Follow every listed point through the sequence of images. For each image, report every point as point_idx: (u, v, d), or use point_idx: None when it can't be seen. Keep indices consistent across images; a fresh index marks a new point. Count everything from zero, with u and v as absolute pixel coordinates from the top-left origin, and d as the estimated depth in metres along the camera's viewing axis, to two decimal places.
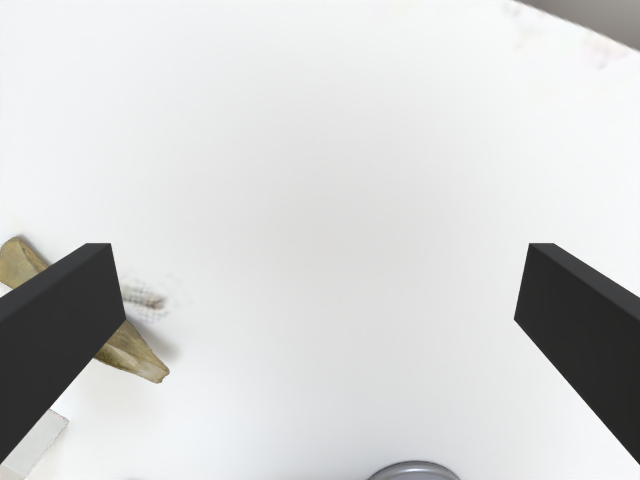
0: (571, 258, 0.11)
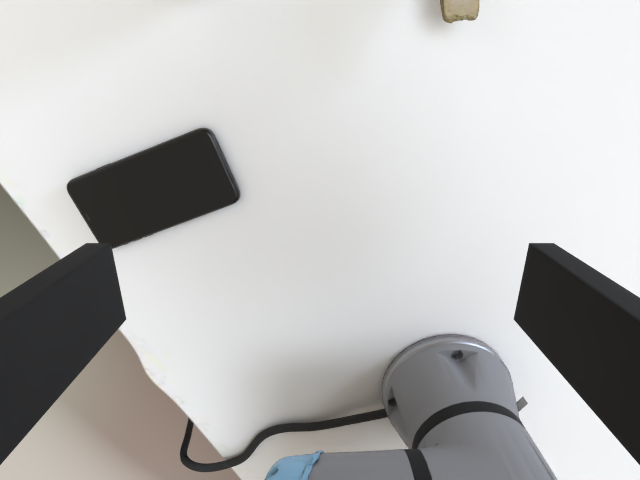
0: (571, 258, 0.11)
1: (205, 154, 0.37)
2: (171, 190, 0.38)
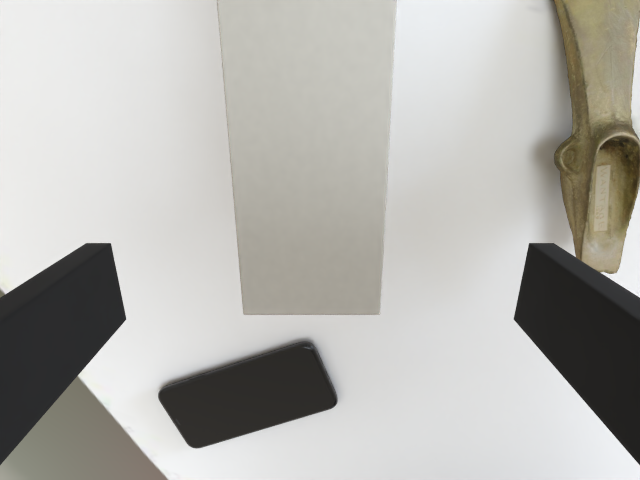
0: (571, 258, 0.11)
1: (305, 367, 0.35)
2: (267, 398, 0.37)
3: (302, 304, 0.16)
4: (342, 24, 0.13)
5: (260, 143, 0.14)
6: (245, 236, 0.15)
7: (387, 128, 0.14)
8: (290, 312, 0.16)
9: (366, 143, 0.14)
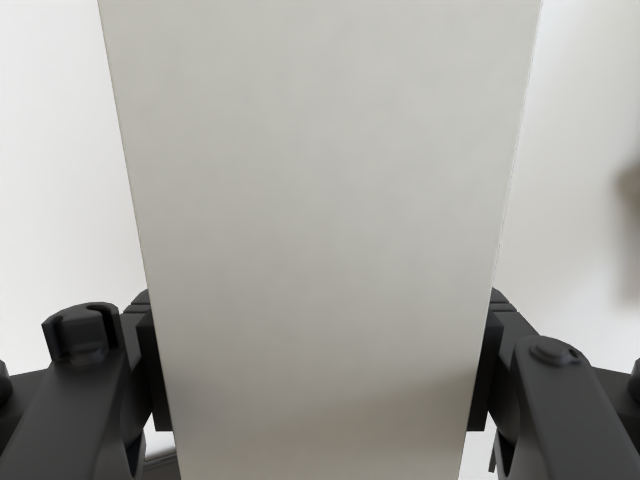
0: None
1: None
2: None
3: None
4: None
5: (211, 246, 0.06)
6: (187, 416, 0.07)
7: (499, 215, 0.06)
8: None
9: (448, 246, 0.06)
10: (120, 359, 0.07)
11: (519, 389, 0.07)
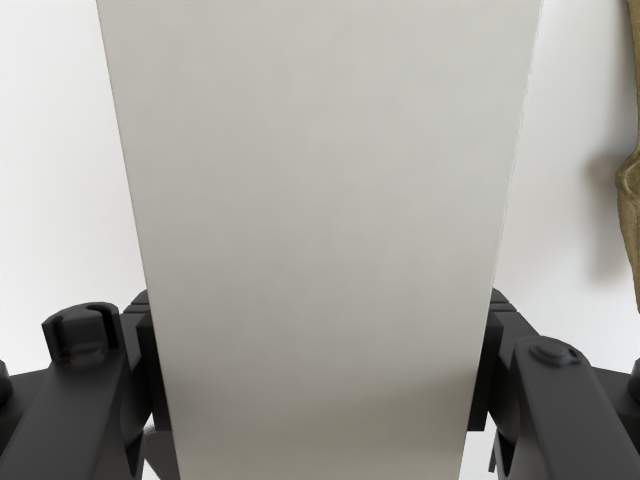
0: None
1: None
2: None
3: None
4: None
5: (210, 246, 0.06)
6: (186, 417, 0.07)
7: (500, 216, 0.06)
8: None
9: (448, 247, 0.06)
10: (120, 360, 0.07)
11: (519, 389, 0.07)
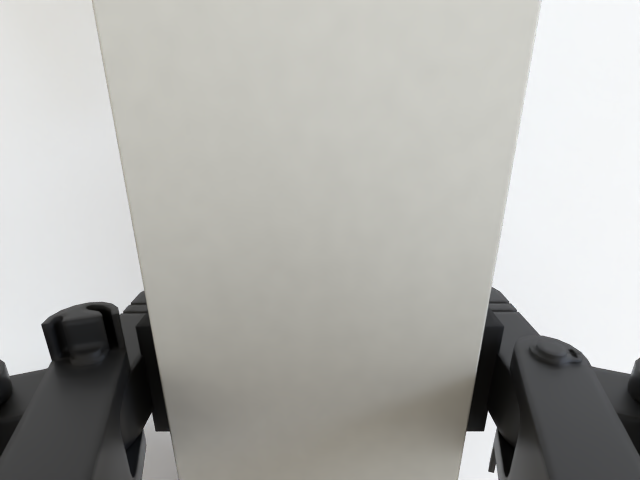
0: None
1: None
2: None
3: None
4: None
5: (208, 244, 0.06)
6: (184, 416, 0.07)
7: (499, 213, 0.06)
8: None
9: (448, 244, 0.06)
10: (120, 359, 0.07)
11: (519, 389, 0.07)
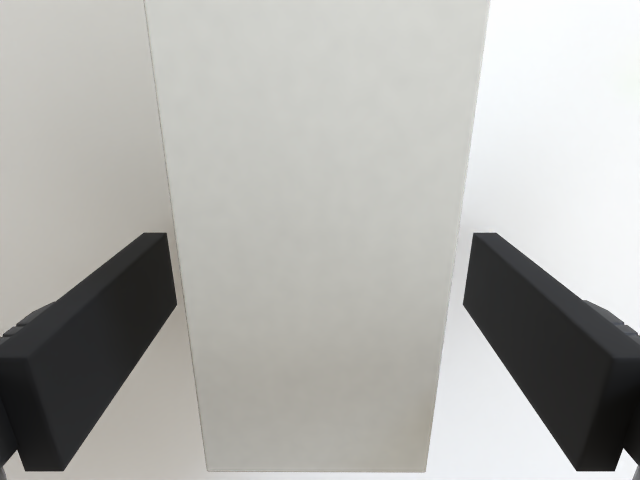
0: (507, 245, 0.12)
1: None
2: None
3: (301, 458, 0.10)
4: None
5: (230, 215, 0.08)
6: (206, 361, 0.09)
7: (460, 191, 0.08)
8: (282, 469, 0.10)
9: (420, 216, 0.08)
10: None
11: None
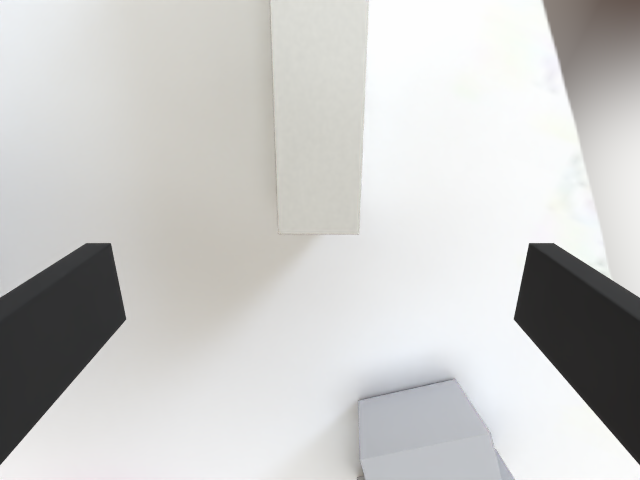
0: (571, 258, 0.11)
1: None
2: None
3: (313, 227, 0.27)
4: (338, 68, 0.24)
5: (292, 132, 0.25)
6: (281, 185, 0.26)
7: (362, 124, 0.25)
8: (306, 232, 0.28)
9: (350, 132, 0.25)
10: None
11: None
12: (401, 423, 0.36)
